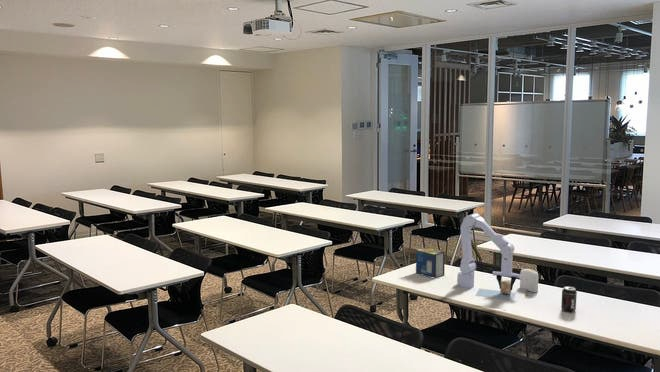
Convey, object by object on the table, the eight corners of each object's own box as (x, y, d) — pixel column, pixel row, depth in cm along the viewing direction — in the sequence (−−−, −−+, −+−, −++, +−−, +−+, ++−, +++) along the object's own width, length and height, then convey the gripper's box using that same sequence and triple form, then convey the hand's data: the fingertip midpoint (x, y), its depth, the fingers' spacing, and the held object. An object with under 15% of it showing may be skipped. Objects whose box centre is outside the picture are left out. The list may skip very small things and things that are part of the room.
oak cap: (500, 292, 290) (500, 282, 290) (501, 289, 295) (501, 279, 294) (510, 293, 288) (510, 283, 288) (511, 291, 293) (511, 280, 292)
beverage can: (577, 313, 265) (578, 290, 264) (562, 312, 266) (564, 289, 265) (573, 308, 272) (575, 286, 270) (559, 308, 273) (560, 285, 272)
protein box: (426, 270, 344) (426, 247, 342) (444, 275, 332) (445, 251, 330) (415, 273, 338) (415, 249, 336) (433, 278, 326) (434, 254, 324)
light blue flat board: (475, 297, 289) (475, 295, 289) (479, 290, 302) (479, 288, 302) (513, 302, 281) (513, 300, 281) (515, 295, 294) (515, 293, 294)
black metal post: (503, 294, 291) (503, 286, 291) (503, 292, 294) (503, 284, 293) (507, 294, 290) (508, 286, 290) (508, 293, 293) (508, 285, 292)
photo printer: (518, 288, 305) (519, 268, 303) (522, 287, 307) (523, 267, 306) (535, 293, 297) (536, 272, 295) (539, 291, 299) (539, 270, 298)
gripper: (492, 265, 289) (491, 289, 291) (520, 268, 283) (519, 293, 285) (493, 262, 296) (493, 286, 297) (521, 265, 290) (520, 289, 291)
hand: (505, 289), depth 292 cm, fingers closed on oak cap, 5 cm apart
